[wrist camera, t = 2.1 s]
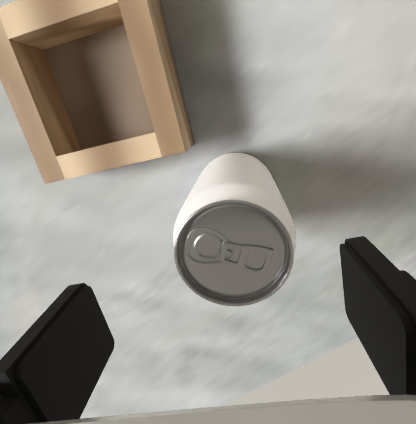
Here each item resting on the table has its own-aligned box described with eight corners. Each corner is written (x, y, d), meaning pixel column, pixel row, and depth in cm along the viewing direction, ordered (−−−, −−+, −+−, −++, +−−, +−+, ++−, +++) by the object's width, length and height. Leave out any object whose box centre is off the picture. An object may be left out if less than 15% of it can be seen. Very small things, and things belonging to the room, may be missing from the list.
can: (207, 143, 23) (178, 175, 12) (283, 161, 23) (324, 211, 12) (191, 214, 26) (155, 295, 15) (261, 231, 26) (278, 326, 14)
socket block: (157, -11, 20) (135, -43, 16) (194, 143, 24) (185, 151, 19) (24, 34, 22) (-27, 16, 18) (77, 171, 25) (45, 183, 21)
